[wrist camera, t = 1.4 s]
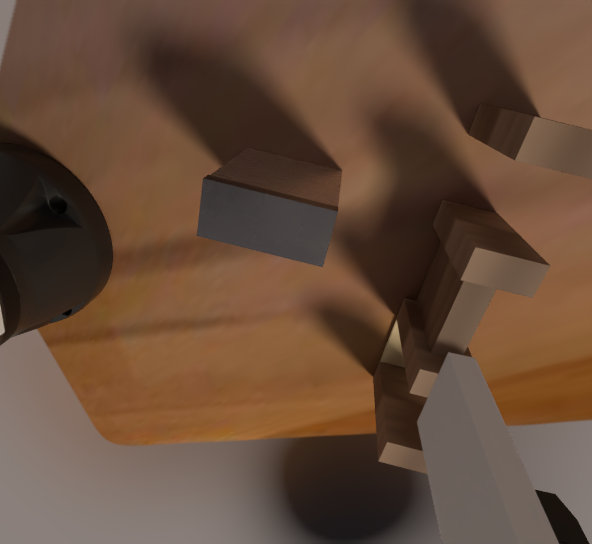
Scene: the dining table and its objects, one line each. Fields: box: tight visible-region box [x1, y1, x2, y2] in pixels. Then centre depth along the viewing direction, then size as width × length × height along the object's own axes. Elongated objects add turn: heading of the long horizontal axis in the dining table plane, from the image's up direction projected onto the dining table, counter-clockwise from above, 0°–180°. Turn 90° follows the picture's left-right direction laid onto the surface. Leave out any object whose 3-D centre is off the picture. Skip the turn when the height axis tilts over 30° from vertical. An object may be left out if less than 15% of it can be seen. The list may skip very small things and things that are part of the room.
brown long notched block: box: [373, 103, 592, 474], centre depth 28 cm, size 4×24×9 cm, turn 168°
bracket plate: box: [197, 148, 342, 267], centre depth 26 cm, size 7×3×10 cm, turn 78°
